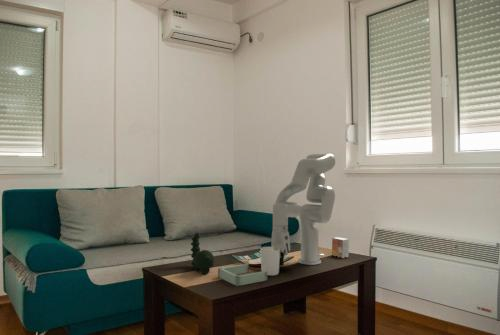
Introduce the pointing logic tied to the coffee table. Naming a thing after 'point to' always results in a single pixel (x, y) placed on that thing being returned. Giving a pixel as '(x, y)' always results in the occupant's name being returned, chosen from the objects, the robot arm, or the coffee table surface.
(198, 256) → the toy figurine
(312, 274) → the coffee table surface
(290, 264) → the coffee table surface
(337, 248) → the small box
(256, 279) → the tray
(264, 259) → the candle holder
